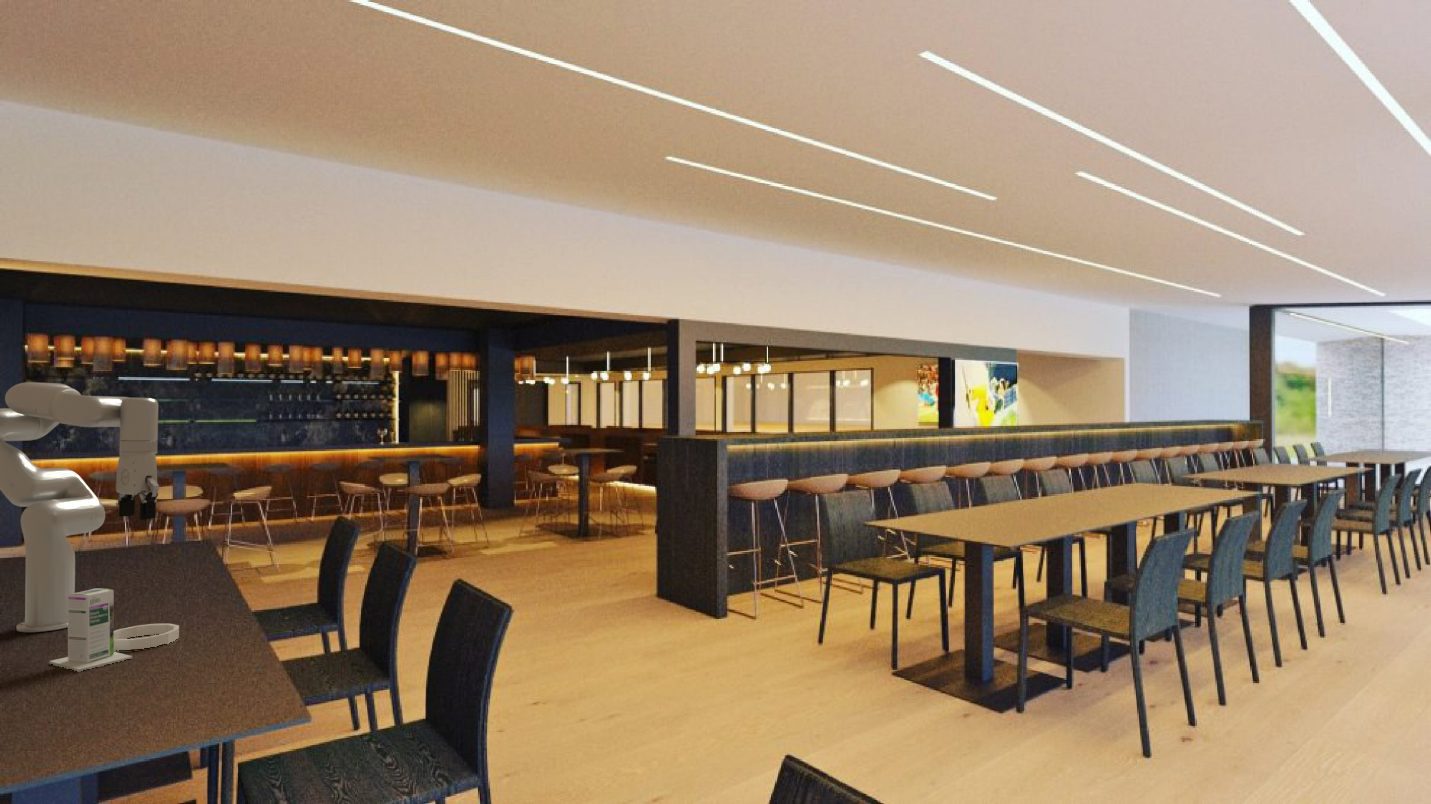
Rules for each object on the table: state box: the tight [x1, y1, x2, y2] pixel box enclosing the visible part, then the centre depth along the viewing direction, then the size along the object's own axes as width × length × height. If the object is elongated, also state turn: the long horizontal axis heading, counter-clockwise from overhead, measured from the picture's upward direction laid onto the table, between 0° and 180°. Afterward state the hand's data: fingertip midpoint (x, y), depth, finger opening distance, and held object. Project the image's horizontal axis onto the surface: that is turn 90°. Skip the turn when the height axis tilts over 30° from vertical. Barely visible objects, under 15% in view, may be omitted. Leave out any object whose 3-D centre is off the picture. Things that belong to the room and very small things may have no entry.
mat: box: [48, 651, 133, 673], centre depth 170 cm, size 12×10×1 cm
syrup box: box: [67, 587, 115, 663], centre depth 170 cm, size 6×6×14 cm
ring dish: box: [114, 623, 180, 652], centre depth 184 cm, size 14×14×2 cm
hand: (137, 517), depth 194 cm, fingers open, 9 cm apart
